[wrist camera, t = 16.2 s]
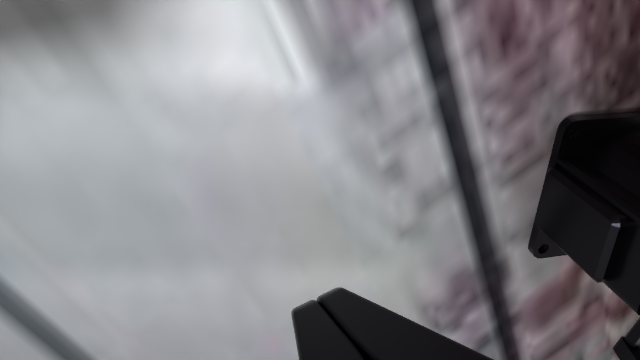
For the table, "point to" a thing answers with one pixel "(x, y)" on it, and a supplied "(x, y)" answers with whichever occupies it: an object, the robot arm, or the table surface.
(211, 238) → the table surface
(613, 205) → the robot arm
